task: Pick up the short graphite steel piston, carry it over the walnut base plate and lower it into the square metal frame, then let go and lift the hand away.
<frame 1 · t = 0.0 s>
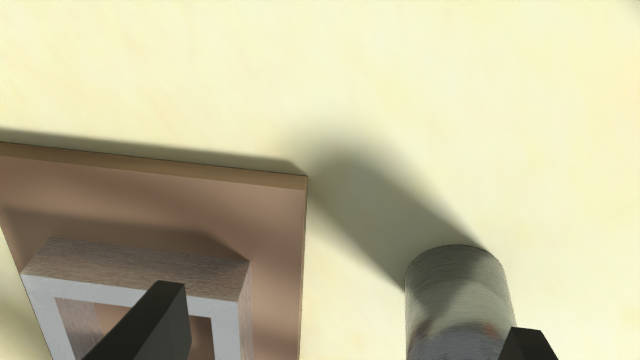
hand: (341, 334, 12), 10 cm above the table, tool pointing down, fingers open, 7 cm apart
walnut base plate: (168, 302, 28), on the table
steel piston: (454, 281, 24), on the table
square metal frame: (161, 317, 27), resting on walnut base plate
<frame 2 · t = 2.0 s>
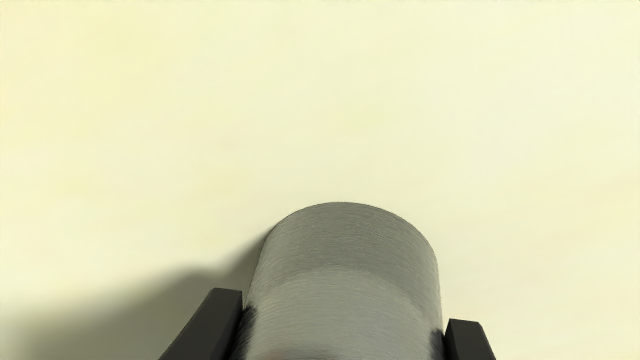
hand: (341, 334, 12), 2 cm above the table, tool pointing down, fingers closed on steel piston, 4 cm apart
steel piston: (347, 272, 13), on the table, touching gripper
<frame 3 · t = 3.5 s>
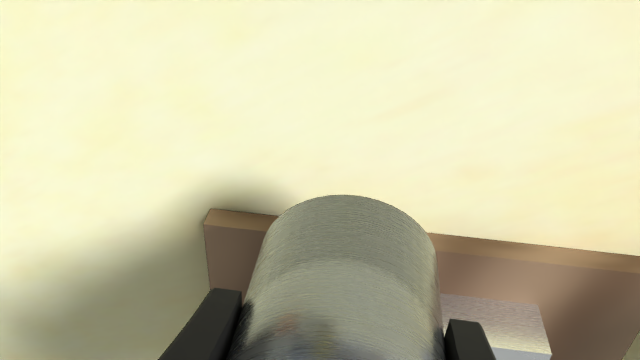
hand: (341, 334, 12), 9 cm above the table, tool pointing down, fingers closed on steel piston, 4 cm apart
walnut base plate: (405, 343, 25), on the table
steel piston: (347, 265, 14), point 7 cm above the table, touching gripper
when the fingers open (4 cm above the table, at t = 5.5 s): steel piston drops 1 cm, resting on walnut base plate.
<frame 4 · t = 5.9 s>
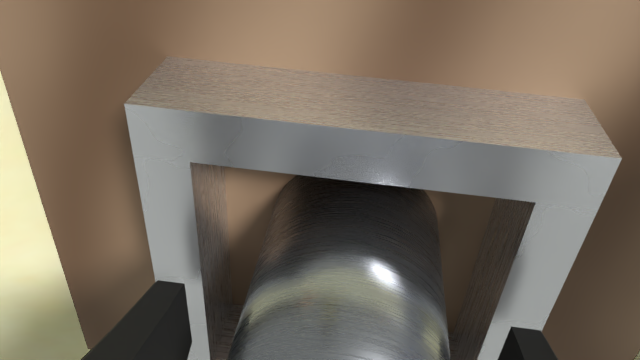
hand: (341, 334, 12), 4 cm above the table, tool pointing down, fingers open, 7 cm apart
walnut base plate: (354, 211, 15), on the table
steel piston: (354, 227, 15), point 1 cm above the table, touching walnut base plate
square metal frame: (351, 234, 15), resting on walnut base plate
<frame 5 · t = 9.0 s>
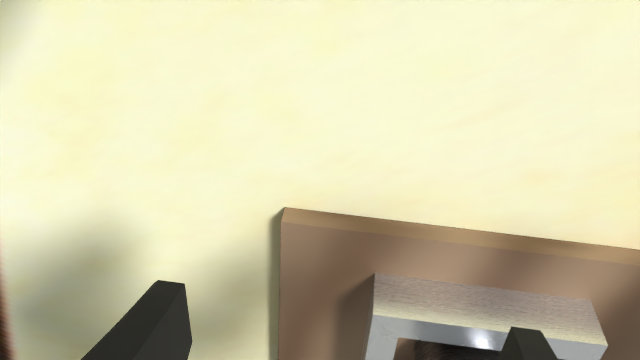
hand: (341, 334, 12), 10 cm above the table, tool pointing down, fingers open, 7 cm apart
walnut base plate: (457, 336, 27), on the table
steel piston: (461, 350, 26), point 1 cm above the table, touching walnut base plate
square metal frame: (459, 352, 26), resting on walnut base plate
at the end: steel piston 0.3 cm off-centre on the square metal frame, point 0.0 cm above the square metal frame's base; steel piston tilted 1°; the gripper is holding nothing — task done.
